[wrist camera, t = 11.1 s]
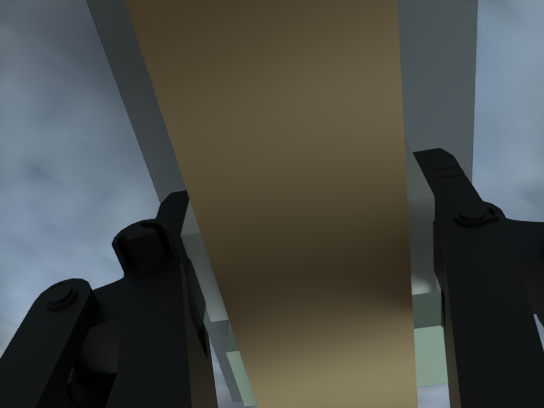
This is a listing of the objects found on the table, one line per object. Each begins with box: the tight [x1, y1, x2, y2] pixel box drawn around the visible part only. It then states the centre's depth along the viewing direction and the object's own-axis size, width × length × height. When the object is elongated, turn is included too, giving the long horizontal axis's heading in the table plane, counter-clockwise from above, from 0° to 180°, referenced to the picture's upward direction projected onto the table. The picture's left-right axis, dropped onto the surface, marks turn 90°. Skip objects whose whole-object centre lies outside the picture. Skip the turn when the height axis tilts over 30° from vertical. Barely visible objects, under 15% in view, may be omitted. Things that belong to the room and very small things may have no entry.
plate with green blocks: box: [86, 0, 478, 406], centre depth 19 cm, size 38×14×5 cm, turn 11°
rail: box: [125, 0, 418, 408], centre depth 13 cm, size 36×4×4 cm, turn 11°
